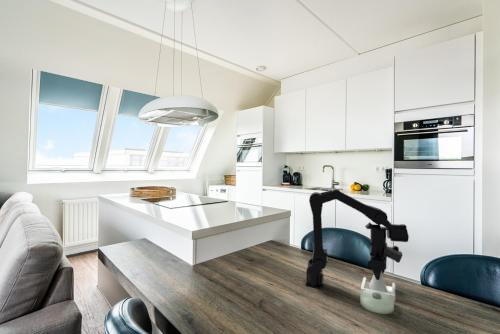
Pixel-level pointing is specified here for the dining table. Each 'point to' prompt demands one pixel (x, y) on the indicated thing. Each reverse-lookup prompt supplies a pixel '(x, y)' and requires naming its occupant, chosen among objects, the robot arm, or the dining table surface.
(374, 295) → the white tub with tabs
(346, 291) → the dining table surface
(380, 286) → the flask
